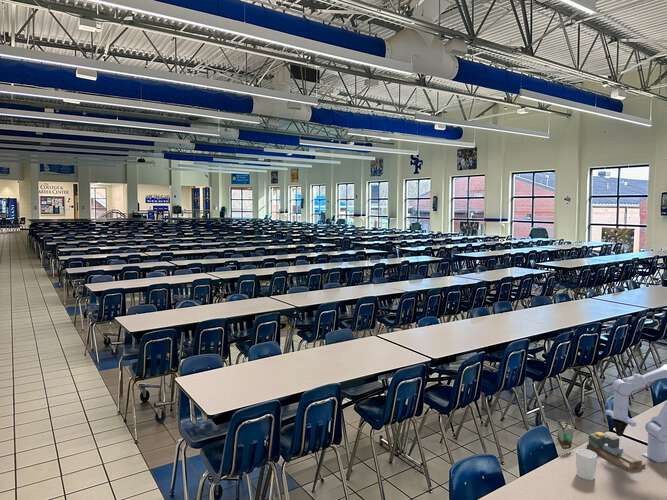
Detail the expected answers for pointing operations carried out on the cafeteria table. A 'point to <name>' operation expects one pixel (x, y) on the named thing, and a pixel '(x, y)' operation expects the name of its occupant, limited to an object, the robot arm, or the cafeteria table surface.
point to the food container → (565, 434)
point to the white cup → (586, 463)
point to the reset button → (599, 434)
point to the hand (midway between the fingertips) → (619, 435)
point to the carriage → (613, 446)
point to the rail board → (620, 460)
